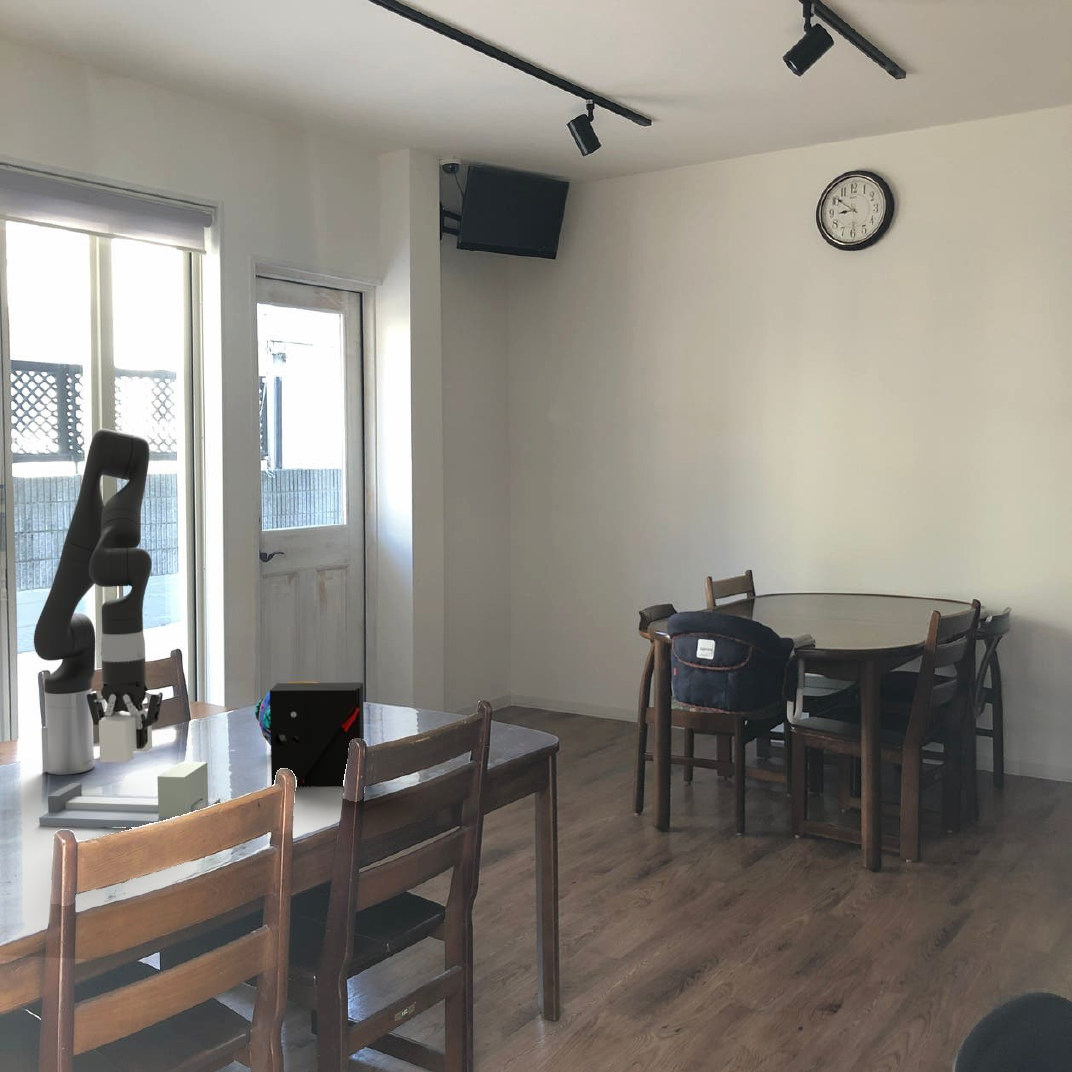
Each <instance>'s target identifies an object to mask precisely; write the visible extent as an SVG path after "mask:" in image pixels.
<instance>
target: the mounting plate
mask: <svg viewBox="0 0 1072 1072" xmlns="http://www.w3.org/2000/svg"><path fill="white" fill-rule="evenodd" d="M208 771H209V770H208V761H188V760H187V761H185V760H184V761H181V762H179V763H177V764H175V765H174V766H172V767H170V768H169V769H167V770H166V771H164V772H162V773H160V774H159V775H158V776H157V796H156V795H127V794H126V795H125V794H120V795H119V794H97V793H95V794H89V793H83V783H77V782H76V783H75V782H71V783H69V784H67V785H66V786H64V787H61V788H60V789H58V790H56V791H55V792H53V793H51V794H49V795H47V804H48V805H47V806H48V807H47V808H48V809H47V810H48V812H46V813H45V814H43V815H40V816H39V817H38V819H39V821H38V823H39V824H38V825H39V826H40V827H41V826H42V827H44V826H46V827H66V826H68V827H69V828H70V827H73V828H95V827H107V828H106V829H110V828H109V827H126V828H131V827H139V826H142V825H146V824H149V823H154V822H159V821H163V820H166V819H170V818H172V817H175V816H181V815H183V814H187V813H189V812H193V811H195V810H200V809H203V808H206V807H208V806H211V805H213V804H217V803H220V804H221V798H220V797H209V774H208Z"/></svg>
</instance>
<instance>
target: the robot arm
mask: <svg viewBox="0 0 1072 1072" xmlns="http://www.w3.org/2000/svg"><path fill="white" fill-rule="evenodd" d="M150 455H151V453H150V445H149V442H148V440H146V439H145V438H144V437H141V436H138V435H134V434H131V433H126V432H121V431H118V430H113V429H109V428H99V429H97V430H96V432H95V433H94V434H93V437H92V439H91V442H90V446H89V450H88V454H87V457H86V462H85V468H84V471H83V476H82V479H81V485H80V489H79V494H78V497H77V498H78V499H77V502H76V506H75V508H74V511H73V514H72V517H71V521H70V523H69V526H68V528H67V529H68V530H67V532H66V536H65V538H64V542H63V547H62V550H61V554H60V558H59V563H58V566H57V569H56V573H55V575H54V578H53V581H52V585H51V587H50V591H49V592H48V593H49V594H48V596H47V599H46V600H45V604H44V606H43V608H42V610H41V612H40V615H39V618H38V620H37V623H36V625H35V629H34V633H33V634H34V635H33V647H34V650H35V653H36V654H37V656H38V657H39V658H40V659H42V660H44V661H49V662H51V661H60V660H61V663H60V665H59V666H58V668H56V670H54V671H53V672H52V673H50V674H49V675H47V676H46V678H45V680H44V684H43V685H44V690H43V691H44V710H45V711H44V715H45V725H44V726H42V727H41V730H40V731H41V753H42V755H41V757H42V773H48V774H51V775H59V776H63V775H72V774H73V775H74V774H80V773H84V772H87V771H90V770H92V769H94V767H95V764H94V763H95V756H94V725H95V726H99V721H100V720H102V719H104V718H106V717H111V716H113V715H115V714H118V713H120V711H125V712H129V713H130V716H131V717H135V721H136V727H137V729H136V745H137V749H142V748H144V747H145V745H146V744H147V742H148V726H150V725H152V726H153V725H154V724H156V723H157V722H158V721H159V718H160V717H159V716H160V712H161V706H162V702H163V697H164V693H163V692H161V691H158V692H154V691H150V690H149V689H148V687H147V685H146V680H147V671H146V670H147V669H146V666H147V665H146V662H147V661H146V641H145V640H146V639H145V636H144V617H143V615H144V614H143V613H144V610H143V609H144V599H145V594H146V589H147V586H148V582H149V579H150V576H151V571H152V558H151V556H150V553H149V552H148V550H146V549H145V548H143V547H138V546H139V545H140V543H141V539H142V532H141V531H142V529H141V527H142V522H141V521H142V518H141V515H142V505H143V500H144V494H145V490H146V484H147V483H146V482H147V476H148V470H149V464H150ZM102 476H107V477H111V478H116V479H121V480H128V482H127V483H126V484H125V485H124V486H123V487H122V488H121V489H119V490H118V491H117V492H116V493H115V494H114V495H112V496H111V497H110V498H109V499H108V500H107V502H106V503H105V504H104V499H103V496H102V491H101V479H102ZM94 585H96V586H98V587H101V588H111V587H112V588H113V587H131V589H130V591H129V593H128V594H126V595H124V596H122V597H118V598H114V599H109V600H106V601H105V602H104V603H103V604H102V606H101V642H100V650H101V651H100V656H101V681H102V683H103V685H102V688H101V689H100V690H98V691H97V690H95V691H92V690H93V689H92V687H93V686H92V683H93V678H94V676H95V672H96V644H97V643H96V641H97V640H96V631H95V627H94V624H93V621H92V619H90V617H89V616H87V614H83V613H80V612H79V613H78V612H77V613H75V611H76V608H77V607H78V605H79V604H80V602H81V601H82V599H83V598H84V597H85V595H86V594H87V593H88V592H89V590H90V589H91V588H92V587H93V586H94ZM145 699H146V701H147V704H148V708H147V709H148V712H147V717H146V714H145V713H146V711H145V709H146V708H145V706H144V701H145ZM103 700H104V701H105V702H106V703H107V706H106V709H105V710H104V706H103V703H102V702H103ZM136 709H137V710H136Z"/></svg>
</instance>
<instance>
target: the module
mask: <svg viewBox="0 0 1072 1072" xmlns="http://www.w3.org/2000/svg"><path fill="white" fill-rule="evenodd" d="M136 710H137V709H136ZM145 711H146V713H145V714H146V717H147V712H148V708H145ZM152 726H153V724H152V725H150V726H148V742H147V744H146V745H145V747H144V748H142V749H137V745H136V729H137V727H136V721H135V717H131V716H130V713H129V712H125V711H120V713H118V714H115V715H113V716H111V717H106V718H104V719H102V720H100V721H99V725H98V732H99V733H98V734H99V735H98V737H99V739H98V741H99V742H98V743H99V762H100V763H124V764H125V763H126V764H127V763H128V762H131V760H134V752H145V753H146V752H148V751H150V750H152V749H153V732H152V731H153V728H152Z"/></svg>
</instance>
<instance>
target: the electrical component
mask: <svg viewBox="0 0 1072 1072" xmlns="http://www.w3.org/2000/svg"><path fill="white" fill-rule="evenodd" d="M269 691H270V730H271V745H270V765H271V766H270V768H271V769H270V770H271V772H270V774H271V776H270V777H271V779H270V780H271V782H270V783H271V786H272V785H273V784H274V780H275V775H276V772H277V770H279V769H280V768H288V769H290V770H292V771H293V773H294V774H295V776H296V780H297V788H296V789H299V788H334V787H335V788H344V787H343V780H344V774H345V769H346V764H347V759H348V748H349V743H350V741H351V740H352V739H354V738H361V739H364V740H365V734H364V733H365V729H364V727H365V724H364V723H365V722H364V720H365V718H364V717H365V716H364V715H365V714H364V711H365V709H364V682H360V681H358V682H317V683H289V682H280V683H279V682H277V683H276V684H275V685H274V686H272V688H271V689H269Z"/></svg>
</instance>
